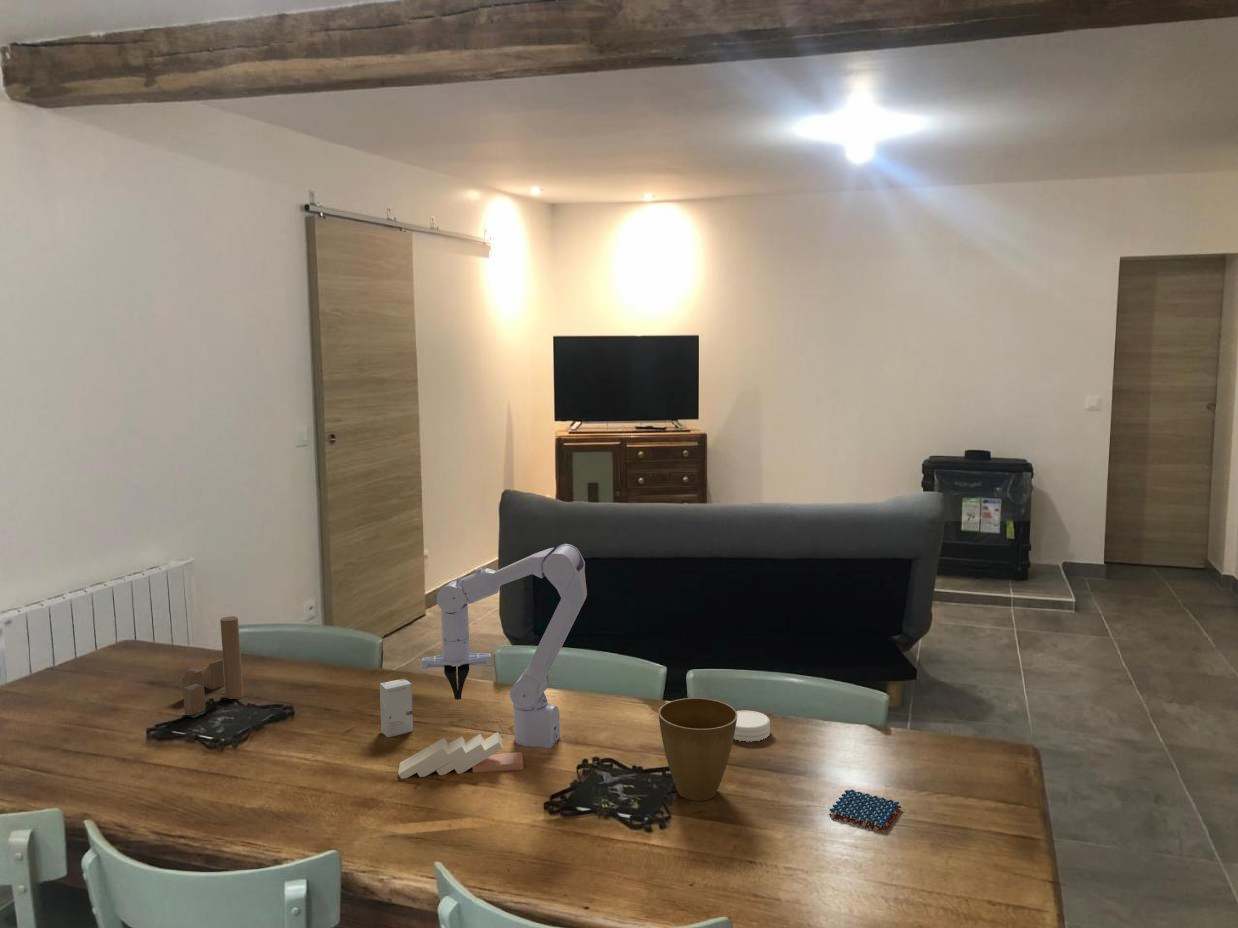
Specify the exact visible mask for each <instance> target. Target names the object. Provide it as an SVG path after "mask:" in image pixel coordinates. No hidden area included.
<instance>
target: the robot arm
mask: <svg viewBox="0 0 1238 928" xmlns="http://www.w3.org/2000/svg"><path fill="white" fill-rule="evenodd" d="M554 548H555V547H550V548H547V549H544V550H540V551H538V552H535V553H533V554H530V555H529V556H526V557H524V558H522V559H520V560H518V561H515V562H513V563H511V564H509V565H506V566H504V567H502V568H500V569H497V570H495V569H491V568H489V567H486V568H484V569H483V567H480V568H477V569H476V570H474V573H472V574H470V575H467V576H464V577H462V576H459V577H457V578H456V579H455V580H452V581H450V582H449V583H448V584H446V585H445V586H444V587H442V588H441V589H440V590H439V591H438V593H437V594H436V604H437V606H438V608H439V609H441V610H440V612H441V640H442V641H441V642H442V654H439V655H433V656H428V657H422V659H421V665H422V666H421V668H422V670H427V669H430V668H431V669H432V668H442V667H443V673H444V675H445V677H446V679H447V680H448V681H449V684H450V687H451V689H452V692H453V696H454V701H455V700H456V701H457V700H462V694H463V689H464V685H465V682H466V679H467V676H468V675H469V672H470V666H475V665H486V666H491V665H492V661H491V653H479V652H477V653H476V652H470V626H469V607H468V606H469V605H470V604H472V605H473V604H474V603H476V602H479V601H481V600H483V599H486V598H488V597H491V596H494V595H495V594H498V593H499V591H500V588H501V586H503V585H505V584H508V583H511V582H514V581H516V580H519V579H522V578H525V577H528V576H530V575H533V576H536V577H538V578H540V579H543V578H544V577H546V579H547V580H548V581H549V582H550V583H551V585H552V586H553V587H555V589H556V590H557V592H558V594H559V596H560V600H559V602H558V603H557V607H556V608H555V611H554V613H553V615H552V617H551V619H550V621H549V623H548V625H547V626H546V629H545V631H544V633H543V635H542V637H541V640H540V641H539V644H538V645H537V648H536V649H535V651H534V654H533V655H532V657H531V660H530V662H529V664H528V665H527V667H526V668H525V669H524V670H523V672H522V673H521V674H520V676H519V678H518V679H517V680H516V682H515V683H514V684H513V685H512V686H511V688H510V692H509V698H510V701H511V702H512V704H513V705H512V706H513V730H514V731H513V733H514V735H513V736H514V738H513V739H514V742H515V743H516V745H520V746H523V747H530V748H531V747H533V748H534V747H535V748H536V747H537V748H546V749H552V747H554V745H555V744H556V742H558V740H559V739H560V738H561V729H560V728H561V725H560V710H559V707H558V705H554V704H551V703H550V702H549V701H548V699H547V695H546V694H545V691H546V690H547V689H548V687H549V683H550V680H549V679H550V678H549V677H550V673H551V671H552V667H553V665H554V663H555V661H556V659H557V657H558V656H559V653H560V651H561V649H562V647H563V645H564V643H565V641H566V639H567V637H568V635H569V633H570V631H571V629H572V627H573V625H574V622H575V621H576V619H577V616H578V615H579V613H580V611H581V608H582V607H583V605H584V603H585V601H586V599H587V596H588V589H587V583H586V572H585V570H586V562H585V560H584V558H583V556H582V554H581V552H580V550H579V549H578V547H576V546H574V545H572V544H569V543H563V544H560V545H558V546H557V547H556V548H555V549H554Z"/></svg>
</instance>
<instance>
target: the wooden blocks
mask: <svg viewBox="0 0 1238 928" xmlns="http://www.w3.org/2000/svg"><path fill="white" fill-rule="evenodd" d="M219 621H220V623H219V624H220V634H221V635H220V636H221V647H222V648H221V651H222V659H219V660H215V661H213V662H210V663H209V664H208V666H207V667H206V668H205V670H204V671H203V670H201V669H198V668H195V667H193V668H190V669H189V668H188V670H187V671H186V672H185V674H184V675H183V677H182V679H181V681H182V694H183V709H184V716H185V715H193V714H195V713H197V712H199V711H202V710H205V709H206V710H207V705H206V693H205V692H206V691H205V688H206V689H208V690H211V691H213V690H217V689H219V687H220V688H223V687H224V688H225V690H224V691H225V699H226V698H230V699H236V700H239V699H242V698H243V697H244V687H243V686H244V685H243V672H242V671H243V670H242V657H241V656H242V655H241V645H240V644H241V643H240V630H239V629H240V628H239V618H238V616H234V615H233V616H232V615H230V616H225V617H221V618H220V620H219ZM222 686H223V687H222ZM204 687H205V688H204Z"/></svg>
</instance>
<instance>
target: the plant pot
mask: <svg viewBox="0 0 1238 928" xmlns="http://www.w3.org/2000/svg"><path fill="white" fill-rule="evenodd" d="M736 711H737V710H736V709H735V708H734V707H733V706H731V705H730V704H727V703H726V702H722V701H720V700H716V699H711V698H703V697H690V698H689V697H688V698H687V697H686V698H680V699H675V700H671V701H668V702H666V703H664V704H663V705H661V706H660V707H659V709H658V713H657V714H658V720H659V721H658V722H659V727H660V734H661V739H662V745H663V750H664V753H665V757H666V758H665V759H666V762H667V765H668V768H669V772H670V775H671V778H672V781H673V784H674V786H675V788H676V792H677V793H678V795H679V796H680V797H681V798H684V799H685V800H689V801H695V802H702V801H703V802H704V801H708V800H710V799H713V798H714V797H715V796H716V795H717V792H718V791H719V790H718V789H719V788H720V784H721V782H722V780H723V777H724V773H725V771H726V768H727V765H728V763H729V758H730V754H731V751H732V748H733V743H734V740H733V739H734V733H735V728H736V722H737V712H736Z"/></svg>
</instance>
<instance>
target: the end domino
mask: <svg viewBox="0 0 1238 928" xmlns="http://www.w3.org/2000/svg"><path fill="white" fill-rule="evenodd" d="M521 770H524V758H523V752H522V751H519V752H518V751H517V752H516V751H515V752H506V753H505V752H504V753H495V754H493V755H491V756H490V757H488V758H486V759H485V760H483V761H481V762H480V763H478V764H476V765H475V766H473V767H472V773H473V774H474V773H475V774H476V773H485V772H496V771H497V772H502V771H521Z"/></svg>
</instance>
